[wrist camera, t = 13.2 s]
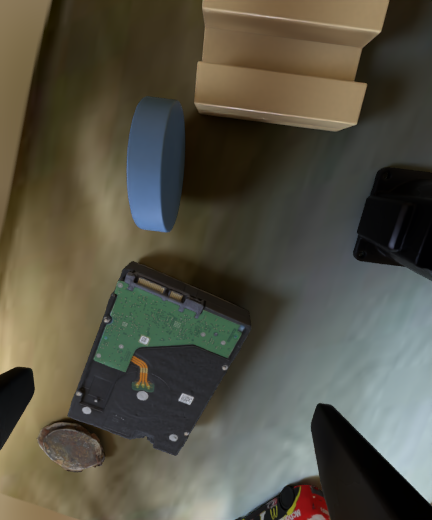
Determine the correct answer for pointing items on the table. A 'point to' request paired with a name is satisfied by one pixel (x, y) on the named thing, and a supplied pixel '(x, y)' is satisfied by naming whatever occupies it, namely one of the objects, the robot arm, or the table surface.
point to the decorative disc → (71, 446)
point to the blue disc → (156, 163)
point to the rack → (286, 60)
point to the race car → (294, 505)
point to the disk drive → (157, 358)
